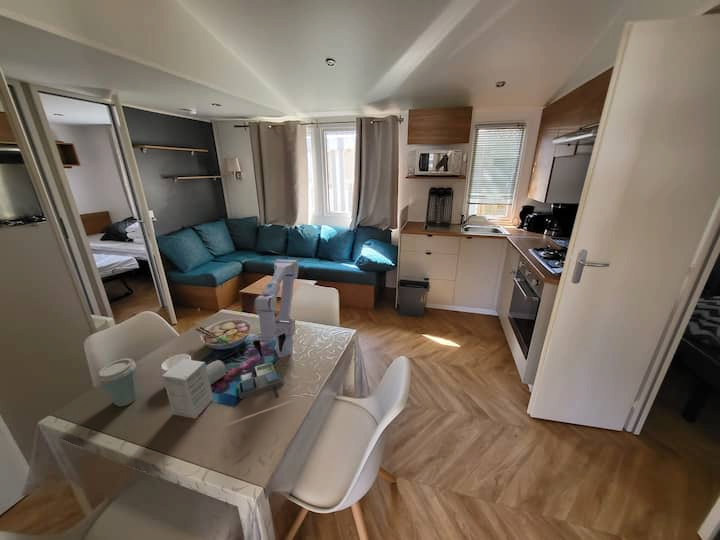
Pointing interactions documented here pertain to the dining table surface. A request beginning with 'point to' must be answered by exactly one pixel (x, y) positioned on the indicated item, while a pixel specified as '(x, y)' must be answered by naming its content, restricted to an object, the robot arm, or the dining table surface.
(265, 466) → the dining table surface
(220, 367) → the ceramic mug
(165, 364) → the cup
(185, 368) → the supplement box
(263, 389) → the grey busybox board
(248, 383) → the plug
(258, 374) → the tray
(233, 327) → the ramen bowl
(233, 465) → the dining table surface
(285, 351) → the robot arm
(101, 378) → the disposable coffee cup
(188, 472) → the dining table surface
